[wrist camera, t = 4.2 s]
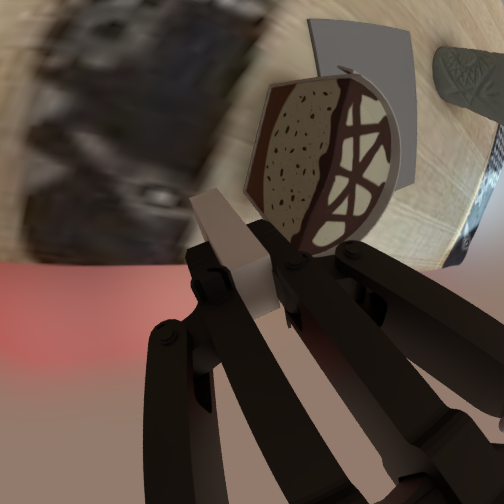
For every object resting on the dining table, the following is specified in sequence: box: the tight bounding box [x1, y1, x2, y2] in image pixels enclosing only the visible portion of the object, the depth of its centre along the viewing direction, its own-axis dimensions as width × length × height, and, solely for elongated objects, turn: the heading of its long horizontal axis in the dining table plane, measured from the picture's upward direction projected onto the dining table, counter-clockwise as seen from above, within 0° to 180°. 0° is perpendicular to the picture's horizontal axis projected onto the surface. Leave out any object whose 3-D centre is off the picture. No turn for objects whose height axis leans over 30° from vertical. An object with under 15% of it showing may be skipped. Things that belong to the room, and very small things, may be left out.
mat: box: [307, 19, 417, 191], centre depth 23 cm, size 14×20×1 cm
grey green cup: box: [433, 47, 504, 126], centre depth 18 cm, size 10×10×12 cm
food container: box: [243, 65, 401, 257], centre depth 18 cm, size 12×6×10 cm, turn 166°
